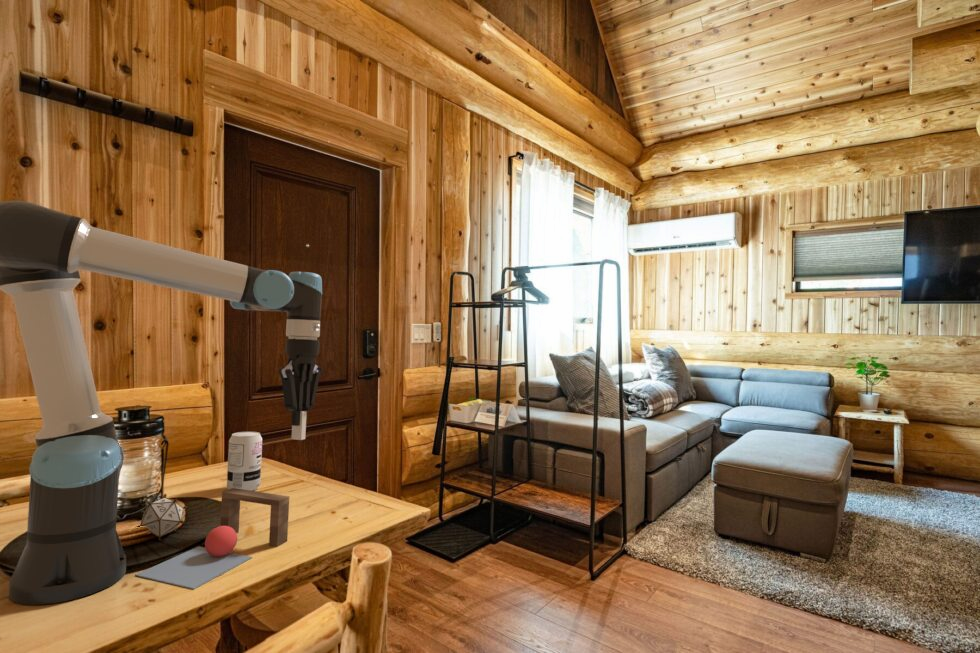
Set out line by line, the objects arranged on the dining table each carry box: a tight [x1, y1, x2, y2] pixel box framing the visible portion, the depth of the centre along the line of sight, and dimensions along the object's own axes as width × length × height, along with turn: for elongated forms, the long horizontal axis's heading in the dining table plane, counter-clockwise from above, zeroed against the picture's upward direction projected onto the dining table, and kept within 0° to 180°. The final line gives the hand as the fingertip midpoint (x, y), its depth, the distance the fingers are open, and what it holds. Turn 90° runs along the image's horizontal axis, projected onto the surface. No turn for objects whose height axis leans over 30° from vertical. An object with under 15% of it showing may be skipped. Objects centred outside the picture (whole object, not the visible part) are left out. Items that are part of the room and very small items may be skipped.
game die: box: [136, 493, 188, 541], centre depth 105 cm, size 9×8×10 cm
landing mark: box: [135, 545, 253, 590], centre depth 92 cm, size 13×13×1 cm
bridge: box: [219, 488, 290, 547], centre depth 106 cm, size 3×14×9 cm, turn 73°
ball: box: [204, 525, 238, 557], centre depth 97 cm, size 6×6×6 cm
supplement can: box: [226, 431, 263, 491], centre depth 139 cm, size 8×8×15 cm
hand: (298, 438), depth 119 cm, fingers closed
